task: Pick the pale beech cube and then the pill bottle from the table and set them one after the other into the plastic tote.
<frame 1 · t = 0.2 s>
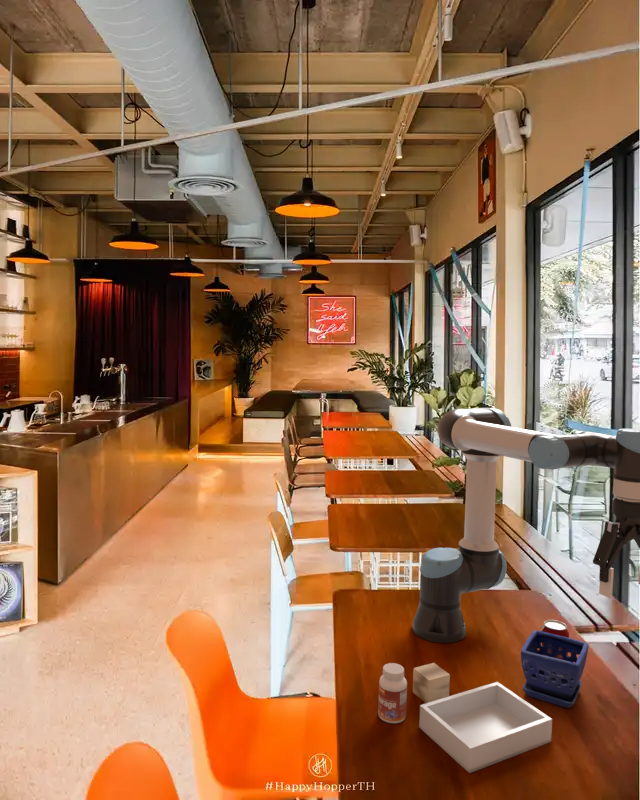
hand: (625, 590, 139), 28 cm above the table, fingers open, 13 cm apart
pill bottle: (391, 717, 136), on the table
soda can: (552, 670, 158), on the table
flower pot: (552, 694, 147), on the table
tote: (484, 734, 130), on the table
beech cube: (430, 695, 145), on the table
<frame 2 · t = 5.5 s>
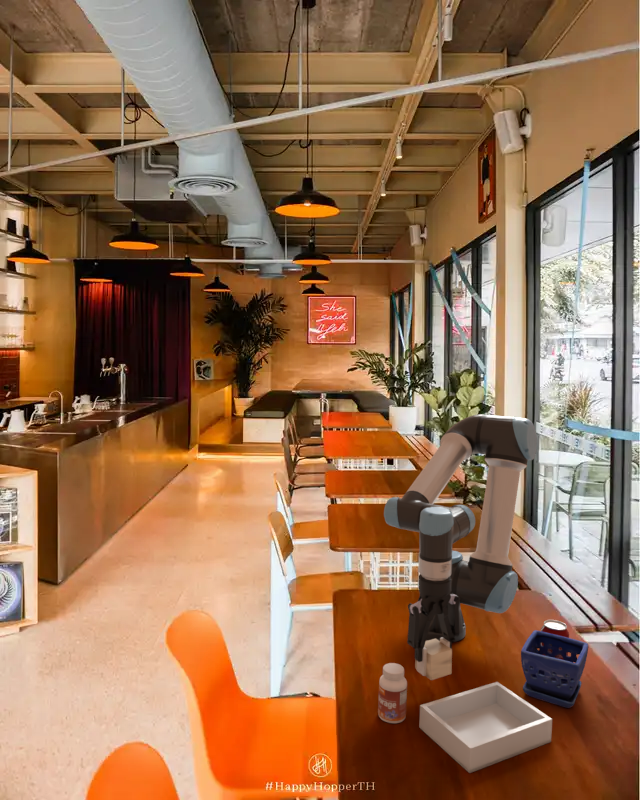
hand: (433, 669, 145), 6 cm above the table, fingers closed on beech cube, 6 cm apart
beech cube: (433, 671, 145), point 6 cm above the table, touching gripper
everything else where it was.
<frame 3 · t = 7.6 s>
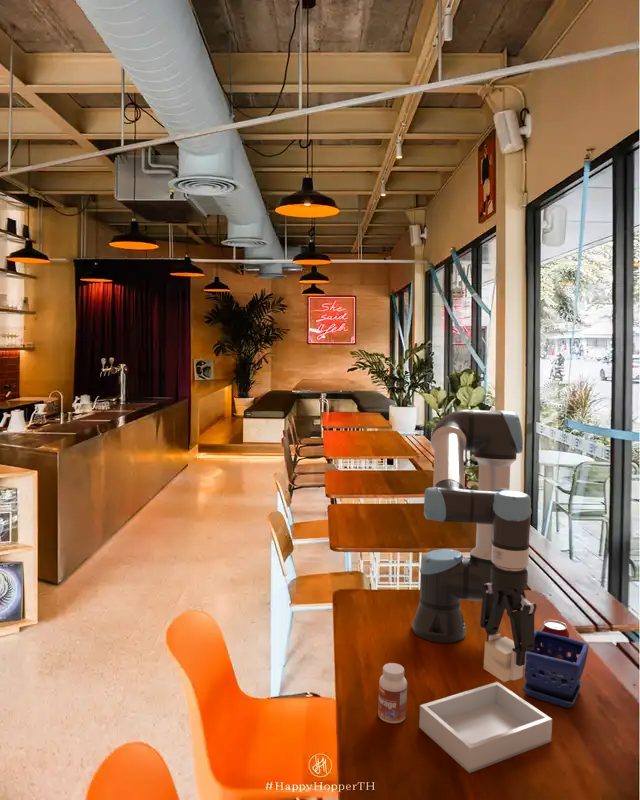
hand: (504, 670, 131), 13 cm above the table, fingers closed on beech cube, 6 cm apart
beech cube: (503, 672, 131), point 13 cm above the table, touching gripper
everything else where it was.
when the fingers open (3 cm above the table, at t = 10.8 s): beech cube stays where it is, resting on tote.
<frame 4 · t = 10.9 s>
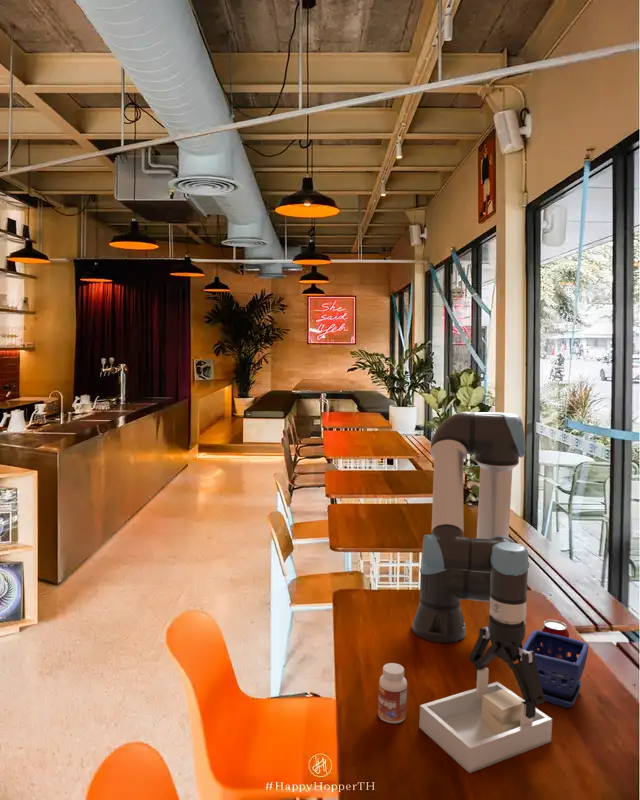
hand: (503, 713, 132), 3 cm above the table, fingers open, 12 cm apart
beech cube: (501, 725, 132), point 1 cm above the table, touching tote
everything else where it was.
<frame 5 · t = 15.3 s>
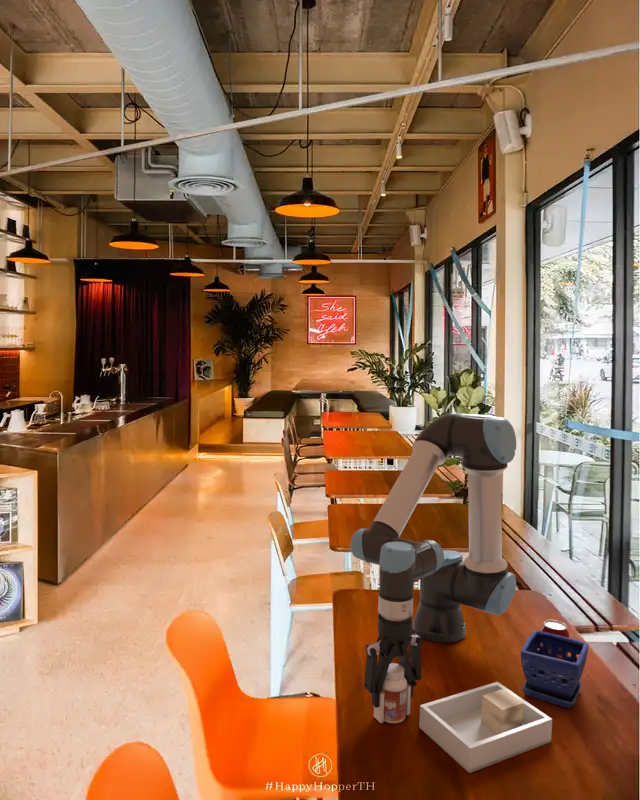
hand: (391, 715, 136), 0 cm above the table, fingers open, 6 cm apart
pill bottle: (391, 717, 136), on the table, touching gripper
everything else where it was.
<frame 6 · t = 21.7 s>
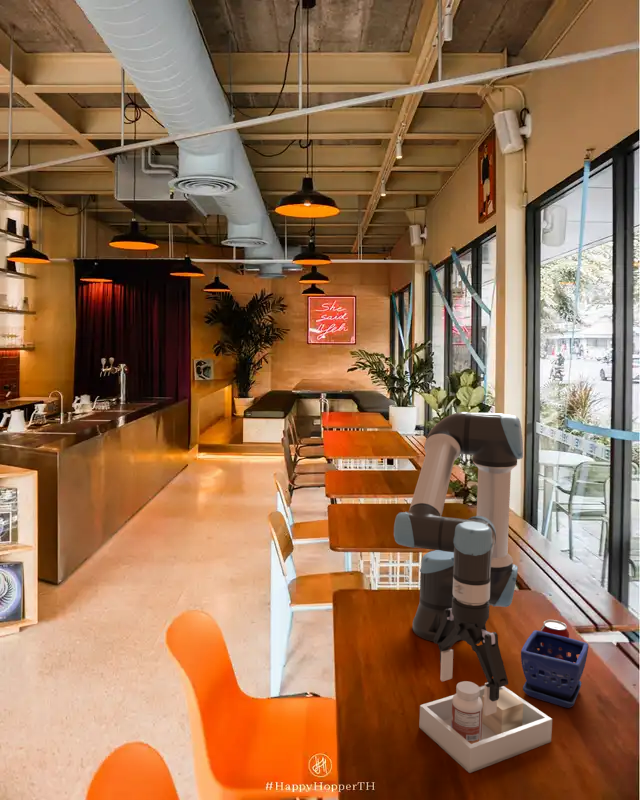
hand: (467, 695, 129), 9 cm above the table, fingers open, 13 cm apart
pill bottle: (466, 738, 128), resting on tote
everything else where it was.
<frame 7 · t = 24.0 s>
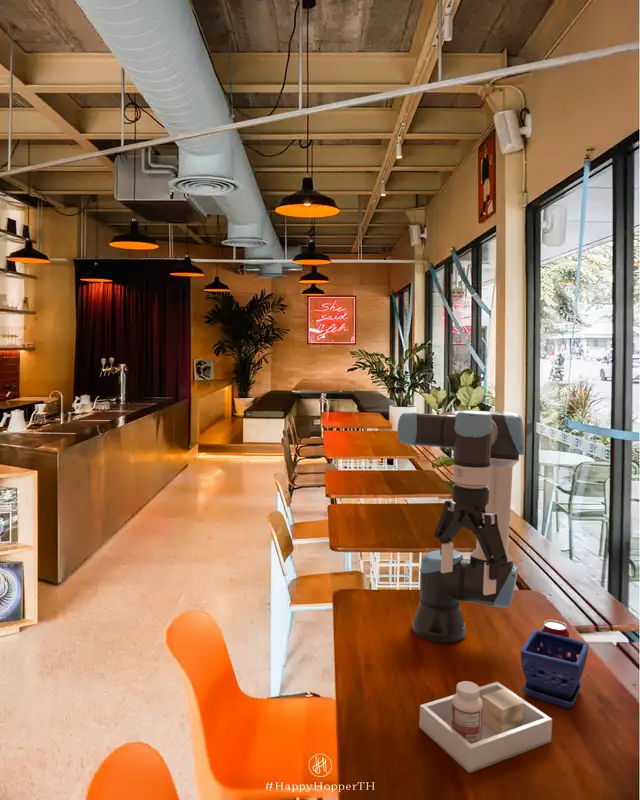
hand: (466, 582, 131), 32 cm above the table, fingers open, 13 cm apart
nothing on the table moved.
at the end: beech cube inside the target area on the tote (4.8 cm from its centre), point 0.6 cm above the tote's base; pill bottle inside the target area on the tote (4.9 cm from its centre), point 0.4 cm above the tote's base; the gripper is holding nothing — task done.
